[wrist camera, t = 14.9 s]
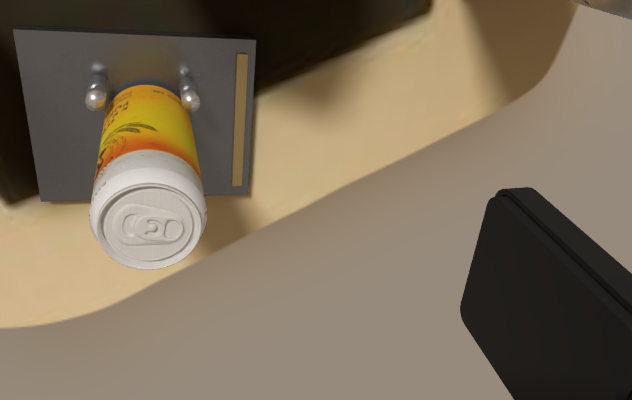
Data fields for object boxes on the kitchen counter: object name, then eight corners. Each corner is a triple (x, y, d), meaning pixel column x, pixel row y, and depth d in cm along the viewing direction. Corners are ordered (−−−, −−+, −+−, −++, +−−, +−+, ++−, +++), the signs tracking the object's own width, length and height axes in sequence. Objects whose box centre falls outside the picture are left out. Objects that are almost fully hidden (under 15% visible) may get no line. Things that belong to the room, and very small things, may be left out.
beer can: (109, 73, 38) (93, 170, 26) (196, 89, 41) (219, 185, 28) (101, 150, 41) (82, 272, 29) (183, 161, 43) (198, 278, 31)
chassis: (253, 35, 41) (266, 55, 37) (245, 187, 47) (255, 219, 43) (16, 24, 36) (-1, 46, 32) (43, 193, 43) (31, 230, 39)
